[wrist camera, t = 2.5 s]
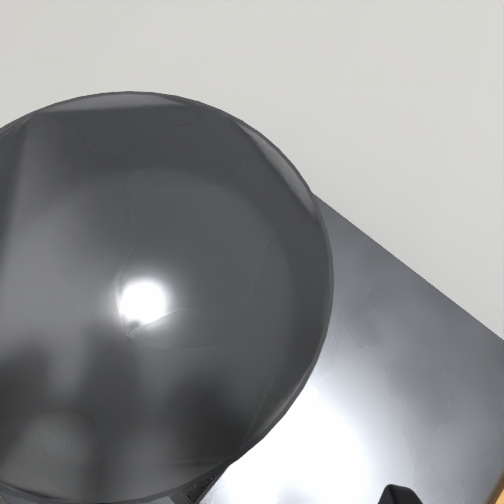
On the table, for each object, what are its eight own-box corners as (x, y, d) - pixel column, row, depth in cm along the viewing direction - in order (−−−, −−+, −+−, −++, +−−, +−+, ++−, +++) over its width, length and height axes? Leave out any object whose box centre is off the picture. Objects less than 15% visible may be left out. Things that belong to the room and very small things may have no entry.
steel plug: (193, 487, 16) (102, 645, 4) (96, 387, 17) (-209, 276, 5) (285, 376, 18) (416, 251, 6) (191, 292, 19) (130, 33, 7)
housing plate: (567, 1079, 11) (692, 1313, 8) (-39, 396, 17) (-98, 387, 14) (740, 576, 16) (862, 610, 13) (219, 161, 21) (218, 115, 18)
